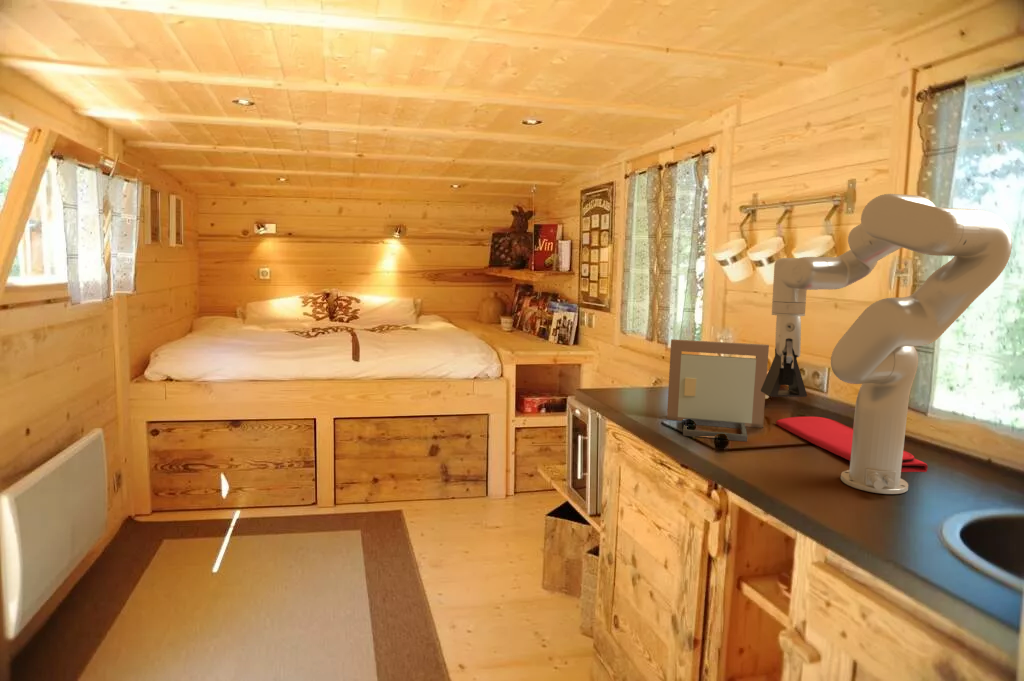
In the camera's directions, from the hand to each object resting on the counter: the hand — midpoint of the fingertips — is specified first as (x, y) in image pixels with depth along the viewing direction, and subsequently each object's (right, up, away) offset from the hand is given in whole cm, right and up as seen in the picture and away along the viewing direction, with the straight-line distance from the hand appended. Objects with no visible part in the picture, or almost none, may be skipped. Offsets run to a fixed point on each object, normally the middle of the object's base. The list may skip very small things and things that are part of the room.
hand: (784, 381), depth 166 cm
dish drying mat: (+18, -17, +6) cm, 25 cm away
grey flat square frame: (-12, -14, +16) cm, 25 cm away
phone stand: (0, -3, 0) cm, 3 cm away
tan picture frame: (-9, -13, +26) cm, 31 cm away
